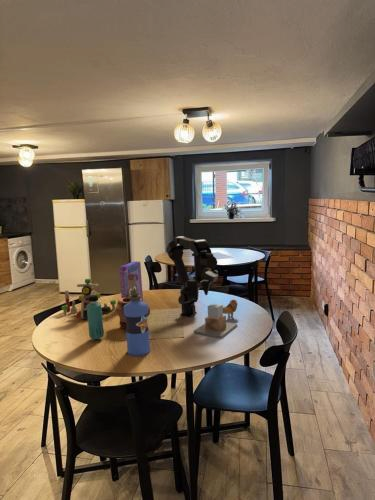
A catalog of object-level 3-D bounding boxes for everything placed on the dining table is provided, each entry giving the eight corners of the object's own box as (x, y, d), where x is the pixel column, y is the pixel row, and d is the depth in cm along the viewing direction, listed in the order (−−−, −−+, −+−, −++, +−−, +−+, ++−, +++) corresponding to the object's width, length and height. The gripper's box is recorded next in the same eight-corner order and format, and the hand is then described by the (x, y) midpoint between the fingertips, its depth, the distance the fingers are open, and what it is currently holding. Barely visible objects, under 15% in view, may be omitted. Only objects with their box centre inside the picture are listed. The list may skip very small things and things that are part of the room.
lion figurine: (234, 314, 175) (233, 297, 174) (240, 317, 170) (239, 300, 169) (209, 320, 168) (208, 302, 167) (215, 323, 164) (214, 305, 162)
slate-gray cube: (208, 317, 154) (207, 306, 154) (213, 313, 159) (212, 303, 158) (217, 318, 152) (217, 307, 151) (222, 315, 156) (222, 304, 155)
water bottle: (122, 353, 135) (117, 292, 132) (138, 344, 143) (133, 286, 140) (139, 358, 130) (135, 294, 127) (155, 349, 138) (151, 288, 134)
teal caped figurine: (96, 343, 146) (92, 298, 144) (86, 340, 150) (81, 296, 147) (107, 338, 152) (104, 294, 149) (97, 335, 155) (93, 293, 153)
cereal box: (129, 308, 195) (126, 266, 191) (122, 307, 196) (119, 266, 193) (142, 299, 211) (140, 261, 208) (135, 299, 212) (133, 261, 209)
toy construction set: (51, 319, 183) (47, 281, 180) (77, 306, 204) (74, 272, 201) (95, 322, 174) (91, 282, 172) (117, 308, 196) (114, 273, 193)
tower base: (193, 332, 153) (193, 319, 152) (210, 321, 166) (210, 309, 166) (221, 338, 146) (221, 324, 145) (237, 325, 159) (236, 312, 158)
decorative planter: (158, 324, 165) (156, 297, 164) (145, 334, 154) (143, 304, 153) (123, 320, 174) (121, 294, 172) (109, 329, 163) (106, 301, 161)
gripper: (205, 270, 152) (206, 304, 154) (223, 263, 167) (225, 294, 170) (184, 269, 158) (186, 301, 160) (204, 262, 173) (205, 292, 175)
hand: (201, 297), depth 166 cm, fingers open, 9 cm apart
